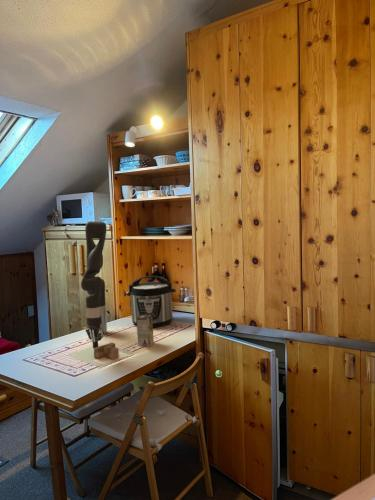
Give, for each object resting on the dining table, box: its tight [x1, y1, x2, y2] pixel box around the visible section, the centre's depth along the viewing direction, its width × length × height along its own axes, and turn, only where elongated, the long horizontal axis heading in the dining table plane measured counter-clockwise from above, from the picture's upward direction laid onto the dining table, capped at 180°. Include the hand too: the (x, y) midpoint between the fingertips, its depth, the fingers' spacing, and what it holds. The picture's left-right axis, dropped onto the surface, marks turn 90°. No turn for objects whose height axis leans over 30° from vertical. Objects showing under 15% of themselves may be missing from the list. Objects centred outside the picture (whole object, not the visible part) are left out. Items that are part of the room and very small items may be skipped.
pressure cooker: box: [125, 275, 176, 328], centre depth 252 cm, size 30×28×32 cm
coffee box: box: [136, 315, 155, 349], centre depth 208 cm, size 9×6×16 cm
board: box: [66, 343, 134, 369], centre depth 194 cm, size 27×22×1 cm
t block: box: [94, 342, 119, 361], centre depth 189 cm, size 10×11×5 cm
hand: (95, 348), depth 197 cm, fingers closed
